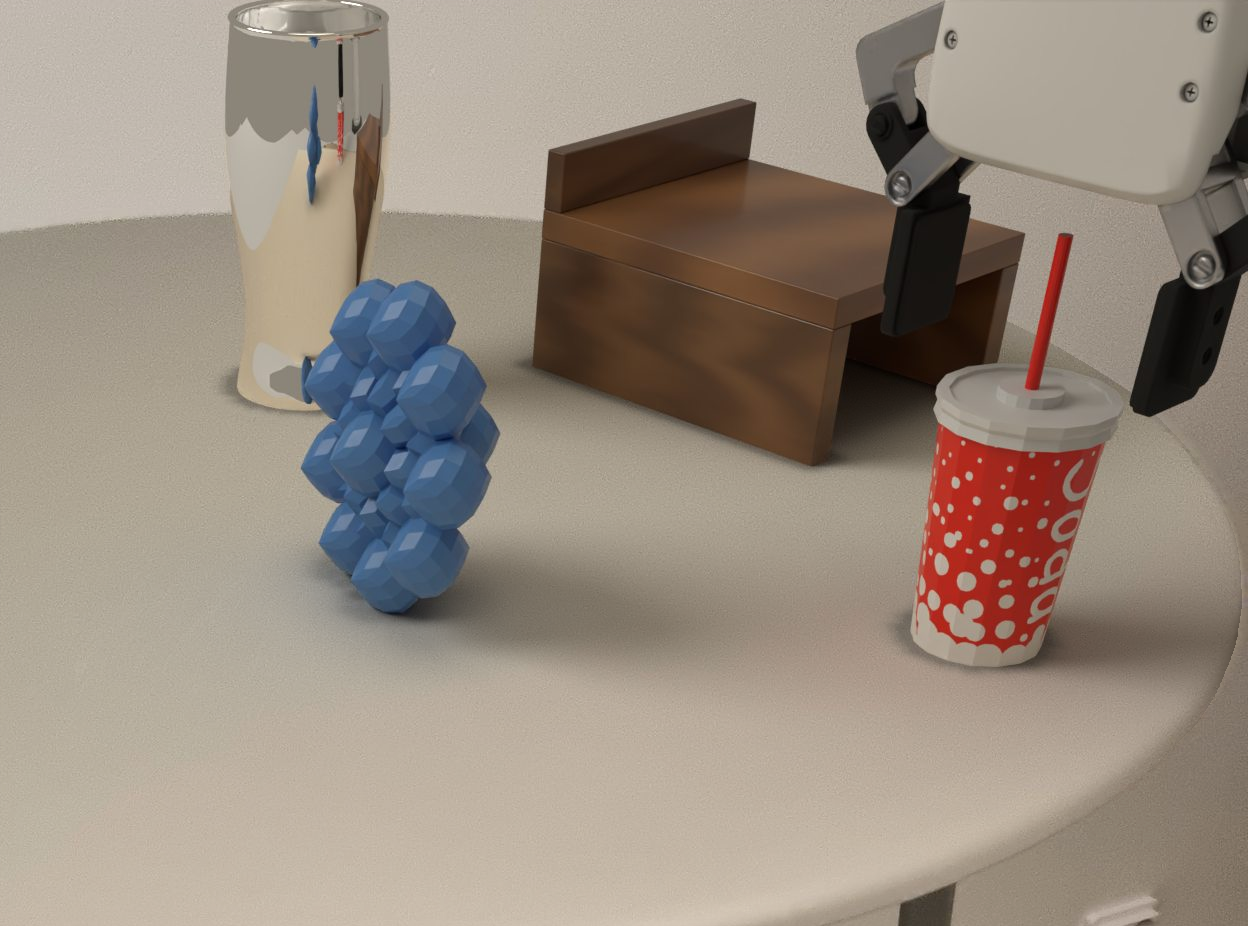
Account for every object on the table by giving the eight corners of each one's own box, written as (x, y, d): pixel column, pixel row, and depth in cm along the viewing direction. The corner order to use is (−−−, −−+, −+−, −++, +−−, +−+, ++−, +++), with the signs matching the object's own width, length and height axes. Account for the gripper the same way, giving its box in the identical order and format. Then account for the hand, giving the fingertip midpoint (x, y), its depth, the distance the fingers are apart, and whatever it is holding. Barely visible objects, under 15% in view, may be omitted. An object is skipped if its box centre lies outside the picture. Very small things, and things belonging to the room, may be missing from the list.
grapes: (564, 655, 78) (597, 307, 71) (395, 688, 76) (409, 334, 68) (423, 533, 86) (438, 208, 78) (266, 560, 84) (265, 230, 76)
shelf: (990, 399, 98) (1039, 171, 91) (810, 473, 91) (849, 234, 85) (713, 310, 107) (740, 97, 100) (530, 372, 100) (547, 149, 94)
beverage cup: (967, 698, 76) (1063, 276, 67) (853, 630, 80) (928, 223, 71) (1097, 660, 78) (1207, 246, 69) (979, 596, 82) (1068, 196, 73)
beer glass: (245, 360, 101) (243, -9, 91) (393, 371, 100) (407, 0, 90) (211, 413, 96) (204, 29, 86) (367, 426, 95) (378, 39, 85)
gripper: (1542, -238, 58) (1332, 410, 70) (994, -301, 68) (888, 278, 79) (1407, -212, 54) (1208, 469, 66) (846, -283, 64) (757, 323, 75)
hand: (1033, 364), depth 73 cm, fingers open, 9 cm apart
